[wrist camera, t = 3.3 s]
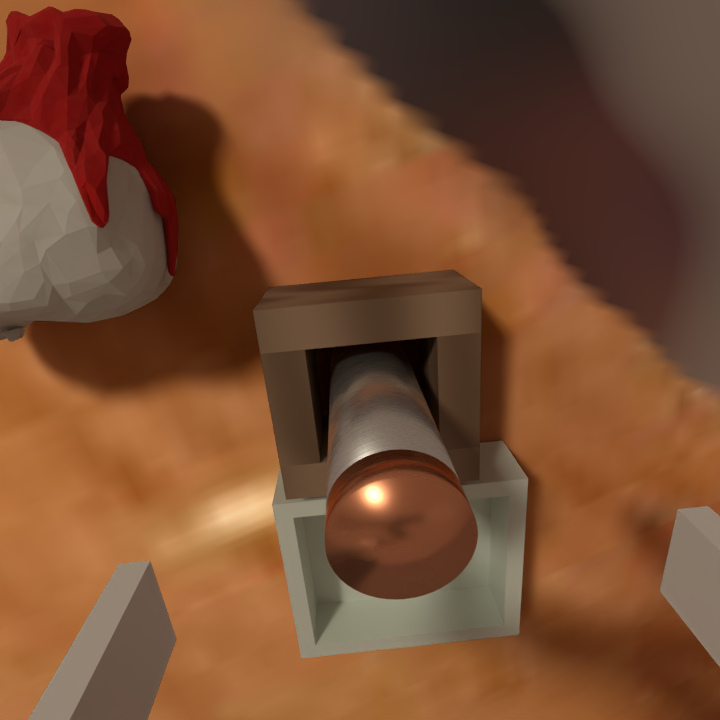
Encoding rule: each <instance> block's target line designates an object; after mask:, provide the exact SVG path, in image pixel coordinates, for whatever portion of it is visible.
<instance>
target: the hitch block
mask: <svg viewBox="0 0 720 720" xmlns="http://www.w3.org/2000/svg"><path fill="white" fill-rule="evenodd" d="M481 313H482V289H481V288H480V287H478V286H477V285H475V284H474V283H473V282H471V281H470V280H468V279H467V278H465V277H464V276H462V275H461V274H459V273H458V272H456V271H455V270H446V271H436V272H425V273H415V274H404V275H394V276H383V277H373V278H362V279H351V280H341V281H330V282H320V283H309V284H299V285H288V286H278V287H269V288H268V289H267V291H266V292H265V294H264V295H263V297H262V298H261V299H260V301H259V302H258V304H257V305H256V307H255V308H254V309H253V316H254V321H255V327H256V333H257V338H258V344H259V350H260V355H261V361H262V367H263V372H264V378H265V384H266V389H267V395H268V401H269V406H270V412H271V418H272V423H273V429H274V435H275V440H276V446H277V451H278V457H279V463H280V468H281V474H282V480H283V485H284V491H285V497H286V500H290V499H300V498H310V497H319V496H326V490H327V461H328V431H329V415H324V416H323V410H322V403H321V395H320V387H319V379H318V372H317V364H316V356H315V349H316V348H327V347H337V346H347V345H357V344H368V343H378V342H388V341H399V340H409V339H419V338H420V363H421V388H422V393H423V396H424V398H425V400H426V403H427V405H428V408H429V410H430V412H431V415H432V417H433V419H434V422H435V424H436V426H437V429H438V431H439V433H440V436H441V438H442V441H443V443H444V445H445V448H446V450H447V452H448V455H449V457H450V459H451V462H452V464H453V467H454V469H455V471H456V474H457V476H458V478H459V481H460V482H466V481H476V480H479V477H480V395H481Z"/></svg>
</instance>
